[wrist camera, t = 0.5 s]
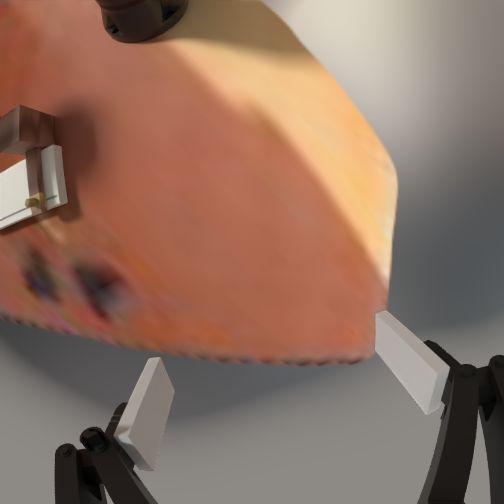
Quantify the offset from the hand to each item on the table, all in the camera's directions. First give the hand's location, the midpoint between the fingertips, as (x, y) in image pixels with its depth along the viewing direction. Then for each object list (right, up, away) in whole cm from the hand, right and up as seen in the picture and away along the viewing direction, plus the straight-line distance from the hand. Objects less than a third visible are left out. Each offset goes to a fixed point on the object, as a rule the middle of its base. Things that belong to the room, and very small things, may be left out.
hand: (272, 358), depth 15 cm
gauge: (-37, +21, +21) cm, 47 cm away
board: (-43, +17, +22) cm, 51 cm away
